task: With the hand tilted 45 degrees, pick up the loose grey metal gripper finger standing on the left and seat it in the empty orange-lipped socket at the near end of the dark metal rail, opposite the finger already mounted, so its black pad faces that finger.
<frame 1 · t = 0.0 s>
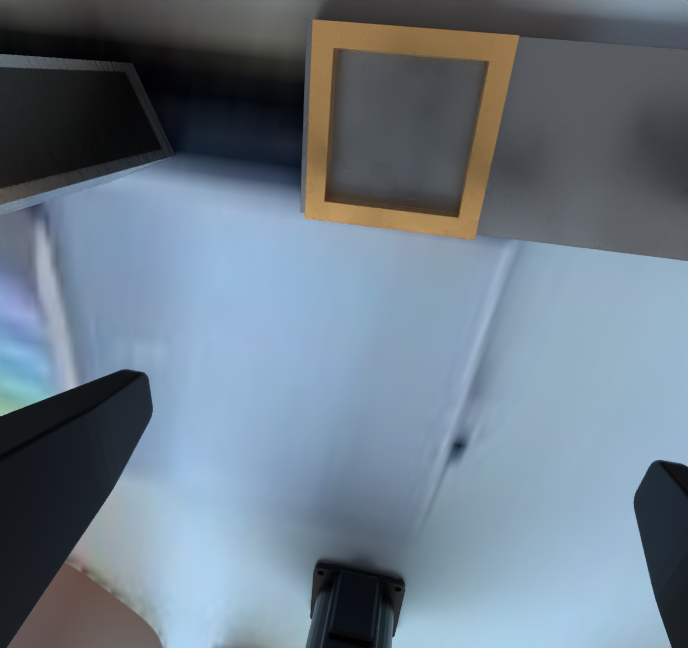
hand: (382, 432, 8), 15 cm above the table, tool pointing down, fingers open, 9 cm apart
loose finger: (119, 126, 22), on the table
rail: (601, 152, 19), on the table
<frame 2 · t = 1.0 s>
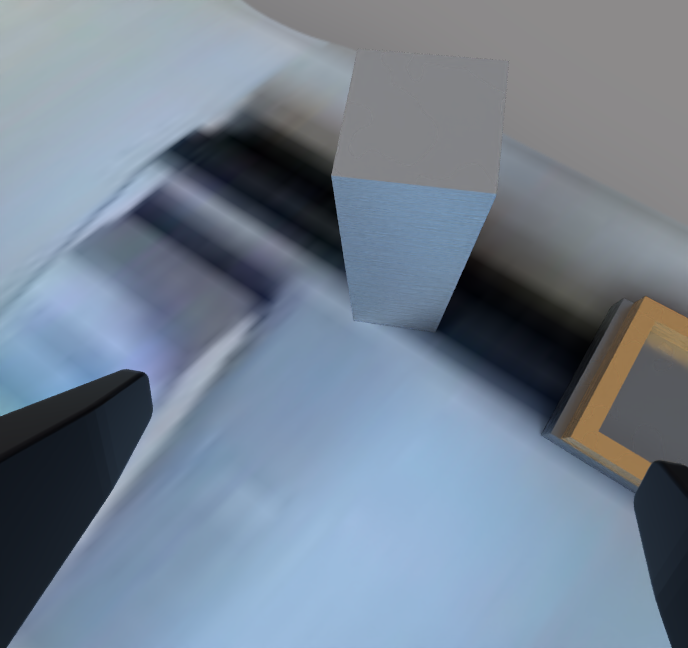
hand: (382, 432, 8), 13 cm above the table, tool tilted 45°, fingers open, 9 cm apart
loose finger: (399, 288, 23), on the table
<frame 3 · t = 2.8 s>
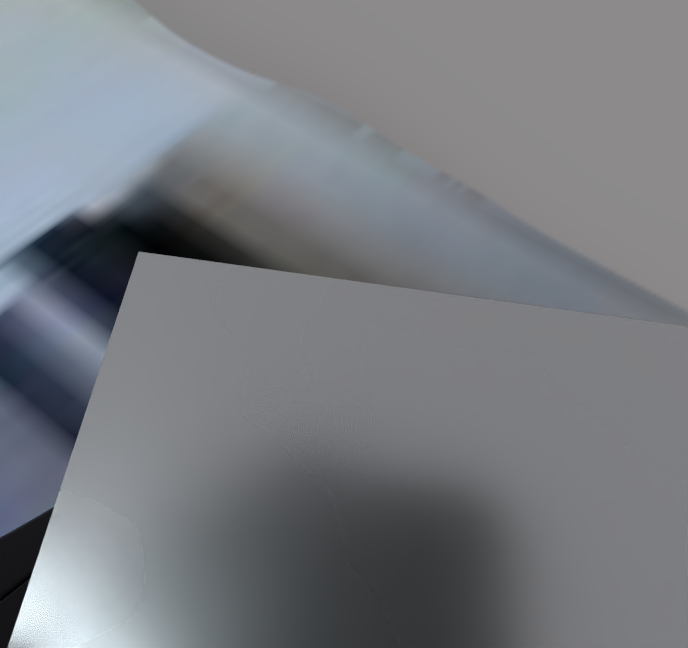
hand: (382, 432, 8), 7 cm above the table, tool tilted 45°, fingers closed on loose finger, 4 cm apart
loose finger: (371, 494, 14), on the table, touching gripper
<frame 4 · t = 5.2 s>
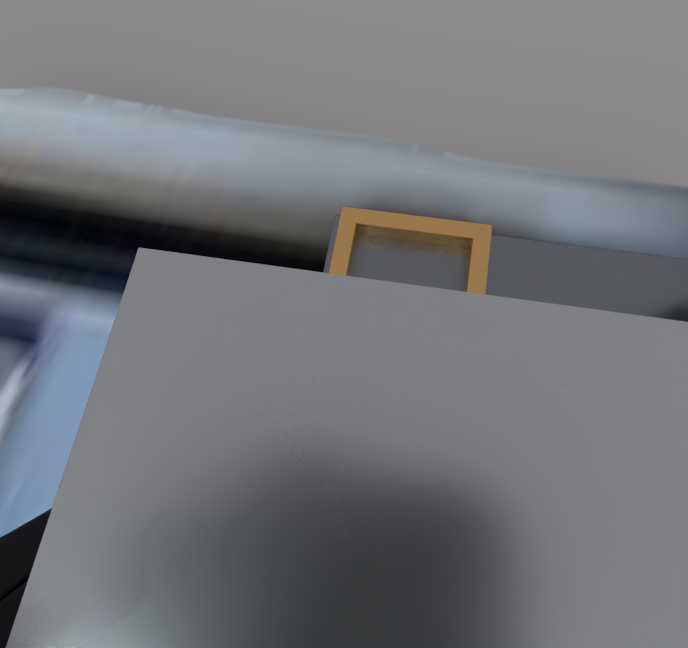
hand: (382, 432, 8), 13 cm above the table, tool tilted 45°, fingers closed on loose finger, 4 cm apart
loose finger: (371, 493, 14), point 7 cm above the table, touching gripper
rail: (569, 325, 22), on the table
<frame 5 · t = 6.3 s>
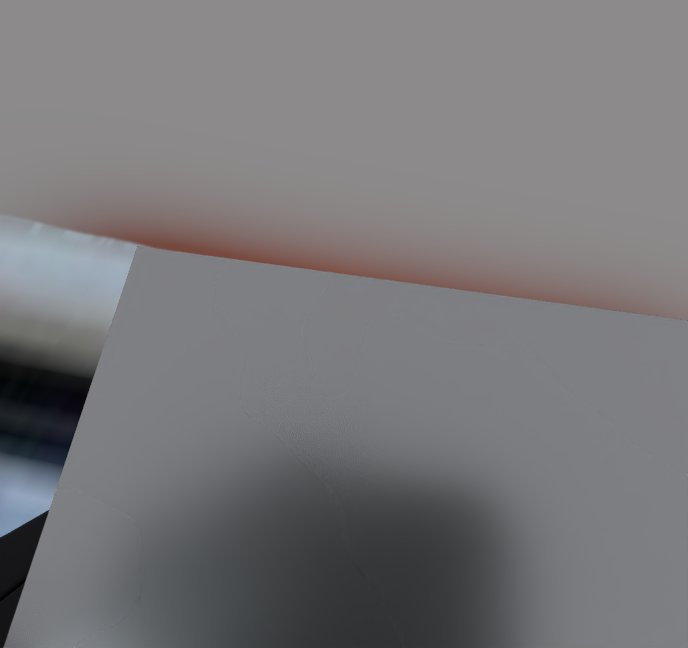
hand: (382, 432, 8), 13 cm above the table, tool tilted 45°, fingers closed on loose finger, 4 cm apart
loose finger: (371, 493, 14), point 7 cm above the table, touching gripper
when the fingers open (10 cm above the table, at t = 7.4 s): loose finger drops 2 cm, resting on rail.
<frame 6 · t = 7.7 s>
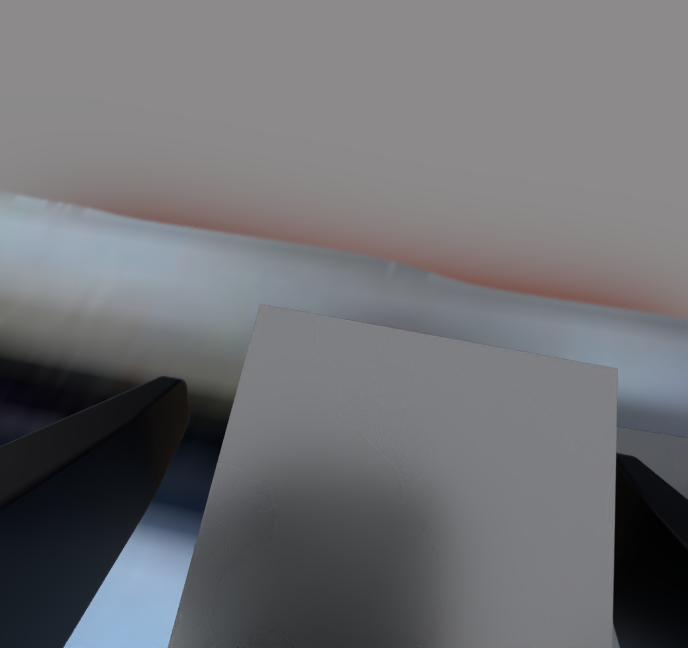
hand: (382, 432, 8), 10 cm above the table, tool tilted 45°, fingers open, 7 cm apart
loose finger: (369, 489, 16), point 1 cm above the table, touching rail
rail: (598, 532, 16), on the table
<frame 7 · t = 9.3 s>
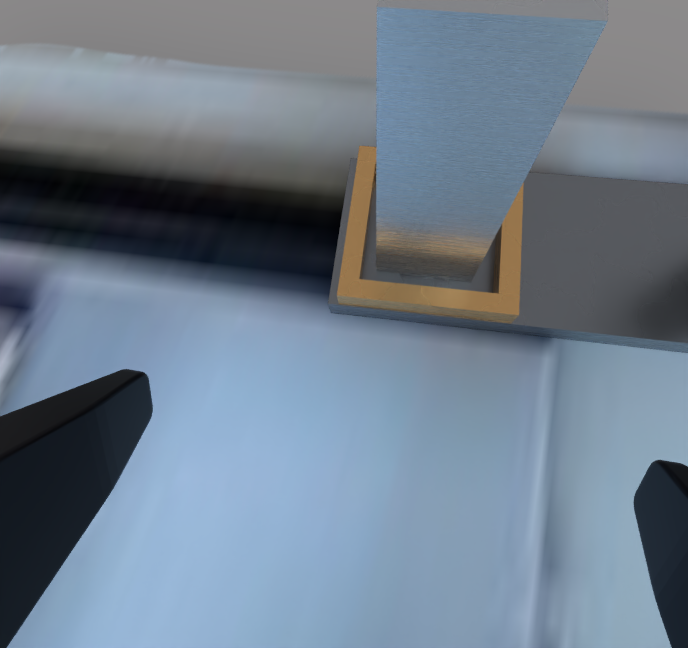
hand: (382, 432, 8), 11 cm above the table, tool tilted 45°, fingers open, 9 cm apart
loose finger: (428, 234, 20), point 1 cm above the table, touching rail
rail: (610, 265, 21), on the table
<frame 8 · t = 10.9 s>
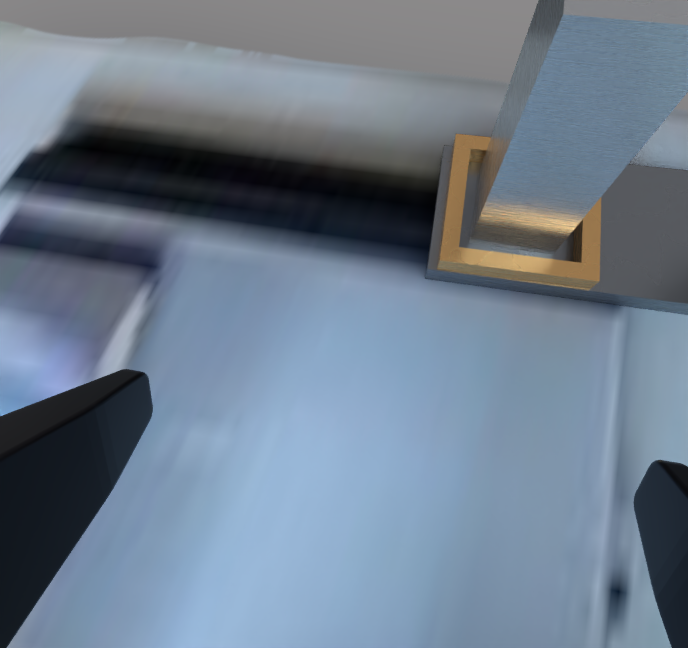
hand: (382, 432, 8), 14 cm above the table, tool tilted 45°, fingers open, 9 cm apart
loose finger: (514, 212, 23), point 1 cm above the table, touching rail
rail: (673, 245, 23), on the table
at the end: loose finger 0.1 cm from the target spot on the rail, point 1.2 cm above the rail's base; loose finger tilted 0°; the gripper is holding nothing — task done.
